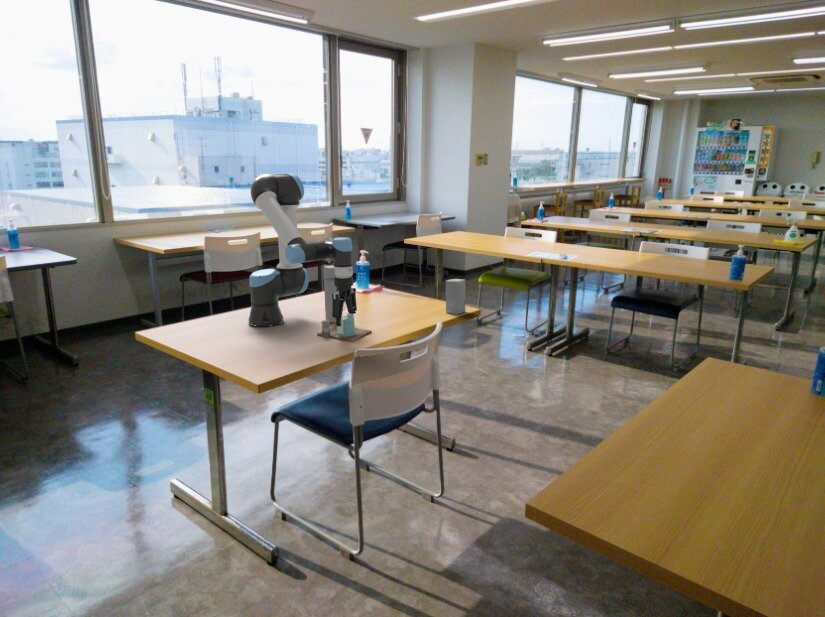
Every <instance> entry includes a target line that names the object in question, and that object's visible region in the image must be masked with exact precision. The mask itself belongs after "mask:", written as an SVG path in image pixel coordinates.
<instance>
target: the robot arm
mask: <svg viewBox="0 0 825 617" xmlns="http://www.w3.org/2000/svg"><path fill="white" fill-rule="evenodd" d="M304 196H305V187H304V184H303V181H302V180H301V178H300V177H299V176H298V175H297V174H294V173H271V174H270V173H264V174H261V175H259V176H258V177H256V178H255V179H254V181H253V182H252V184H251V187H250V198H251V200H252V202H253V204H254V206H255V207H256V208H257V209H259V210H261V212H262V213H263V215H264V216H265V217H266V219H267V220H268V222H269V223H270V225H271V226H272V228H273V229H274V231H275V233H276V234H277V239H278V241H277V242H278V255H279V256H278V257H279V263H278V264H276V269H274V268H265V269H260V270H259V269H258V270H256V271H253V272H252V273H251V274H250V275H249V284H248V286H249V291H250V292H249V293H250V303H251V307H250V311H249V317H248V324H249V323H250V324H252V325H256V326H269V327H271V326H270V325H275V326H277V325H276V324H279V323H281V322H283V323H284V316H283V314H282V311H281V308H280V306H279V298H284V297H289V296H293V295H294V296H296V295H299V294H301V293H304V292H305V291H306V290H307V288H308V286H309V281H310V280H309V278H310V277H309V274H308V271H307V269H306V268H304V266H303V263H308V262H315V261H317V262H318V261H324V260H331V261H333V265H334V276H336V277H335V278H334V284H335V286H336V287H337V290H336V293H335V294H332V299H333V304H332V317H333V318H336V323H335V326H336V325H337V333H340V334H344V333H343V318H342V316H343V313H344V312H343V311H344V310H343V309H344V307H346V309H347V313H346V316H352V317H354V314H356V313H357V310H358V307H357V298H356V296H357V295H356V292H357V287H353V286H354V277H353V275H354V274H353V273H354V272H353V271H354V270H353V264H354V263H353V244H352V239H351V238H350V237H343V236H342V237H340V236H338V237H334V238H333V239H332V240H329V239H319V240H317V241H314V242H313V241H312V242H306V240H305V239H304V238H303V236H302V235H301V234H300V232H299V230H298V219H297V208H298V207H299V206H300V201H301V200H303V198H304ZM340 299H342V300H340ZM354 318H355V317H354ZM281 324H282V323H281ZM279 325H280V324H279Z"/></svg>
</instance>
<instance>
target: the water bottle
mask: <svg viewBox="0 0 825 617" xmlns="http://www.w3.org/2000/svg"><path fill="white" fill-rule="evenodd" d="M323 271H324V272H323V278H324V279H323V285H324V286H323V288H324V289H323V290H324V307H325V308H324V312H325V320H329V322H330V323H331V324H336V318H333V317H332V304H333V299H332V294H335V293H336V290H337V287H336V286H335V284H334V278H335V277H336V276H334V264H333V265H325V266H324V268H323ZM340 300H342V299H340ZM345 310H346V307H343V311H345Z"/></svg>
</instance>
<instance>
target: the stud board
mask: <svg viewBox="0 0 825 617" xmlns="http://www.w3.org/2000/svg"><path fill="white" fill-rule="evenodd" d="M372 332H373V331H372V330H368V329H363V328H357V327H355V334H354V335H353V336H348V337H343V336H339V333H337V325H336V324H335V325H334V326H330V322H329V320H326V319H325V320H324V319H323V320H321V331H320V332H317V333H316V335H317V336H318V335H319V337H325V338H330V339H337V340H341V341H348V342H351V343H353V342H355V341H357V340H360V339H361V338H363V337H365V336H368V335H370V334H371V333H372Z"/></svg>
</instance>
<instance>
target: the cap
mask: <svg viewBox="0 0 825 617" xmlns="http://www.w3.org/2000/svg"><path fill="white" fill-rule="evenodd" d="M342 318H343V333H344V334H340V333H339V336H343V337H348V336H353V335H354V334H355V328H356V327H355V317H352V316H347V315H342Z"/></svg>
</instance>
